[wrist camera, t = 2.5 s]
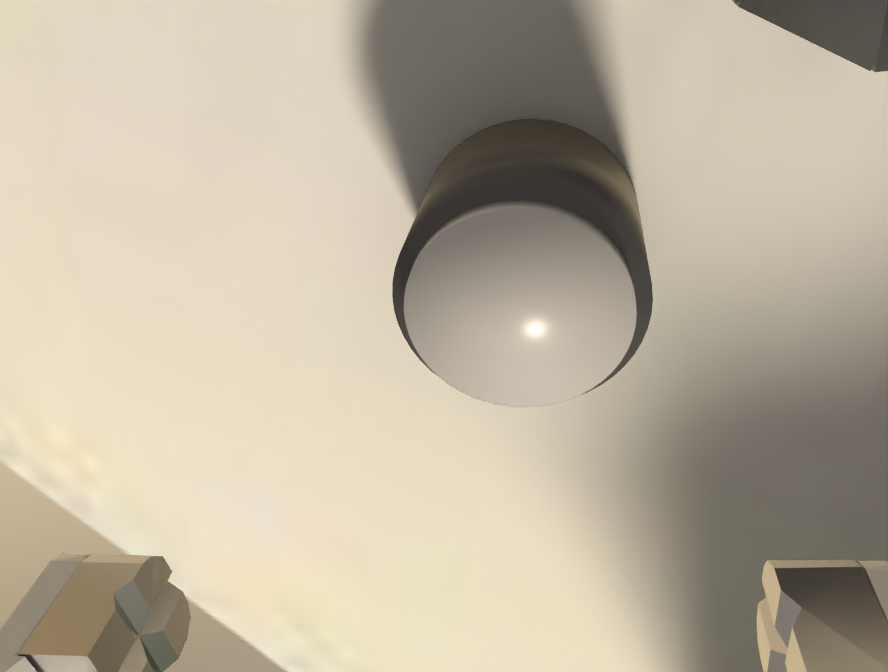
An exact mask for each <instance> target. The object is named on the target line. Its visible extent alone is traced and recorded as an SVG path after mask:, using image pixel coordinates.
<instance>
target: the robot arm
mask: <svg viewBox="0 0 888 672" xmlns="http://www.w3.org/2000/svg"><path fill="white" fill-rule="evenodd" d="M171 573H172V571H171V569H170V567H169V566H168V564H167V562H166V561H165V559H164V557H163V556H140V555H114V554H113V555H112V554H83V553H81V554H80V553H62V554H61V555H59V556H58V557H56V558H55V559H53V560H51V561H50V562H49V564H48V565H47V567H46V568H45V569H44V571H43V572H42V573H41V575H40V576H39V578H38V579H37V580H36V582H35V583H34V584H33V586H32V587H31V588H30V590H29V591H28V592H27V594H26V595H25V596H24V598H23V599H22V601H21V602H20V603H19V605H18V606H17V607H16V609H15V610H14V611H13V613H12V614H11V616H10V617H9V618H8V620H7V621H6V622H5V624H4V625H3V626H2V628H1V629H0V672H163V671H164V670H165V669H167V668H168V667H169V666H170V665H171V664H172V663H173V662H175V661H176V660H177V659H178V658H179V656H180V654H181V652H182V650H183V647H184V645H185V643H186V641H187V636H188V630H189V625H190V619H191V616H190V610H189V604H188V601H187V599H186V597H185V595H184V593H183V592H182V591H181V590H180V589H178V588H177V587H175V586H174V585H172V584H171V583H170V582H168V580H169V577H170V575H171ZM762 583H763V587H764V590H765V594H766V597H765V598H764V599H763V600H762V601H760V602H759V603H758V610H757V620H756V622H757V641H758V648H759V654H760V659H761V664H762V668H763V672H888V561H853V560H767V562H766V563H765V565H764V568H763V574H762Z"/></svg>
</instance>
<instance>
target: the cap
mask: <svg viewBox="0 0 888 672" xmlns="http://www.w3.org/2000/svg"><path fill="white" fill-rule="evenodd" d="M652 301H653V297H652V283H651V277H650V271H649V266H648V260H647V254H646V249H645V243H644V237H643V231H642V226H641V220H640V214H639V209H638V203H637V199H636V194H635V191H634V188H633V185H632V183H631V180H630V178H629V176H628V174H627V172H626V171H625V169H624V167H623V166H622V164H621V163H620V162H619V161H618V159H617V158H616V157H615V155H614V154H613V153H612V152H611V151H610V150H608V149H607V148H606V147H605V146H604V145H603V144H602V143H600V142H599V141H598V140H596V139H595V138H594V137H592V136H590V135H588V134H587V133H585V132H583V131H581V130H579V129H576V128H574V127H571V126H569V125H566V124H562V123H558V122H554V121H548V120H538V119H525V120H515V121H508V122H504V123H500V124H497V125H493V126H490V127H488V128H486V129H484V130H481V131H479V132H477V133H475V134H474V135H472V136H471V137H469V138H467V139H466V140H464V141H463V142H462V143H461V144H459V145H458V146H457V147H456V148H455V149H454V150H453V151H452V152H451V153H450V154H449V155H448V156H447V157H446V158H445V159H444V161H443V162H442V164H441V165H440V167H439V168H438V170H437V171H436V173H435V175H434V177H433V179H432V181H431V183H430V186H429V188H428V190H427V192H426V195H425V197H424V199H423V202H422V204H421V206H420V209H419V211H418V213H417V215H416V218H415V220H414V222H413V225H412V227H411V229H410V231H409V234H408V236H407V238H406V241H405V243H404V245H403V247H402V250H401V252H400V254H399V257H398V261H397V264H396V267H395V271H394V277H393V304H394V311H395V314H396V318H397V321H398V324H399V327H400V329H401V331H402V333H403V336H404V338H405V339H406V341H407V343H408V344H409V346H410V347H411V349H412V350H413V352H414V353H415V354H416V355H417V357H418V358H419V359H420V360H421V361H422V362H423V363H424V364H425V365H426V366H427V367H428V368H429V369H430V370H431V371H432V372H433V373H435V374H436V375H437V376H439V377H440V378H441V379H442V380H444V381H445V382H446V383H447V384H449V385H451V386H452V387H454V388H455V389H457V390H459V391H460V392H463V393H465V394H467V395H469V396H471V397H473V398H476V399H479V400H482V401H485V402H489V403H493V404H497V405H503V406H510V407H540V406H546V405H552V404H556V403H560V402H563V401H567V400H569V399H572V398H574V397H577V396H579V395H582V394H584V393H587V392H589V391H591V390H592V389H594V388H596V387H598V386H600V385H602V384H603V383H604V382H606V381H607V380H609V379H610V378H611V377H613V376H614V375H615V374H616V373H617V372H618V371H620V370H621V369H622V368H623V367H624V366H625V365H626V363H627V362H628V361H629V360H630V359H631V357H632V356H633V355H634V354H635V352H636V350H637V349H638V347H639V346H640V344H641V342H642V340H643V338H644V335H645V333H646V331H647V328H648V325H649V321H650V317H651V311H652Z"/></svg>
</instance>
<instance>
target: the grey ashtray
mask: <svg viewBox="0 0 888 672" xmlns="http://www.w3.org/2000/svg"><path fill="white" fill-rule="evenodd" d="M732 1H733V2H734V3H735V4H736V5H737V6H738V7H740V8H742V9H744V10H746V11H748V12H751V13H753V14H755V15H757V16H759V17H761V18H763V19H765V20H767V21H769V22H771V23H773V24H775V25H777V26H779V27H781V28H783V29H785V30H787V31H789V32H791V33H793V34H796V35H798V36H800V37H802V38H804V39H806V40H808V41H810V42H812V43H814V44H816V45H818V46H820V47H822V48H824V49H826V50H828V51H830V52H832V53H834V54H836V55H839V56H841V57H843V58H845V59H847V60H849V61H851V62H853V63H855V64H857V65H859V66H861V67H863V68H865V69H867V70H869V71H871V69H872V70H873V71H874V72H880V71H888V0H732Z"/></svg>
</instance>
